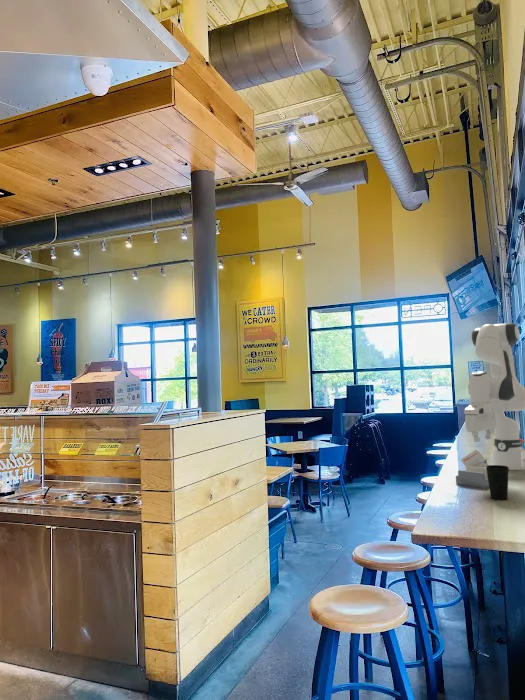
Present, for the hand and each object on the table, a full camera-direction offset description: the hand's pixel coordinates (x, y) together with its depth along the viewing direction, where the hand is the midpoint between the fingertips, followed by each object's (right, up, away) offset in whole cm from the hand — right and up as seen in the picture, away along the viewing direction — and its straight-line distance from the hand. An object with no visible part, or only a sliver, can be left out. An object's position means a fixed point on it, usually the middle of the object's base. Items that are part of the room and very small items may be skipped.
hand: (482, 440), depth 223 cm
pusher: (-5, -18, -6) cm, 19 cm away
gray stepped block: (-2, -18, -4) cm, 18 cm away
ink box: (+1, -16, -2) cm, 16 cm away
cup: (-8, -17, -32) cm, 37 cm away
